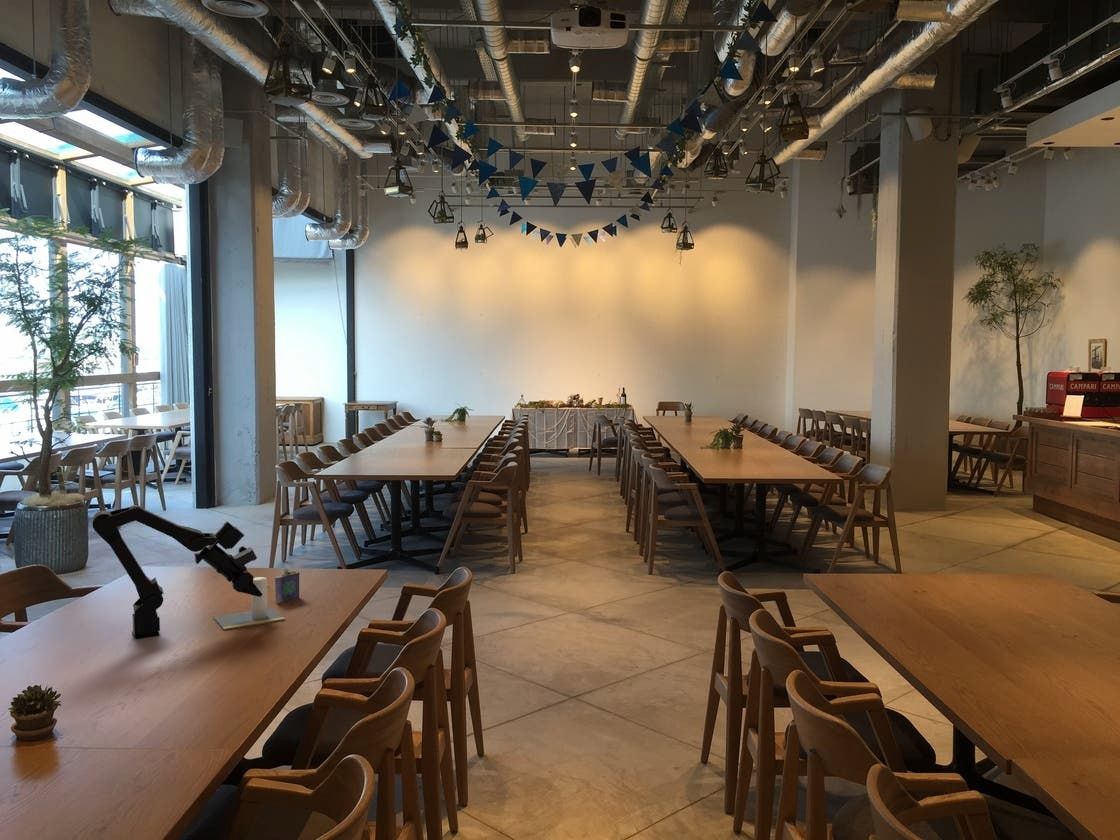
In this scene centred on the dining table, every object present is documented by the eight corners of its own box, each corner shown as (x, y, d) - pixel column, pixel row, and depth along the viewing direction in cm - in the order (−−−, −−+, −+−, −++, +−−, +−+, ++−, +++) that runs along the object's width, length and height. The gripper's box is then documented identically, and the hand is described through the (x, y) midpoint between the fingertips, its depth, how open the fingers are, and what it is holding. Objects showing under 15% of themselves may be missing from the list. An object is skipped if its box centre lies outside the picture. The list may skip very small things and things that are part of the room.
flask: (278, 604, 285) (278, 572, 284) (272, 603, 287) (272, 571, 286) (301, 598, 293) (300, 566, 292) (295, 596, 294) (295, 565, 294)
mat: (224, 630, 258) (224, 628, 258) (213, 618, 270) (213, 616, 270) (285, 620, 269) (285, 618, 268) (272, 609, 280) (272, 607, 280)
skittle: (259, 620, 267) (258, 581, 266) (248, 617, 269) (247, 579, 268) (270, 616, 271) (269, 578, 270) (260, 614, 273) (259, 576, 272)
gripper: (244, 546, 257) (283, 578, 264) (234, 534, 274) (271, 565, 280) (216, 575, 254) (256, 607, 260) (208, 562, 271) (246, 592, 277)
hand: (258, 592), depth 269 cm, fingers open, 9 cm apart
